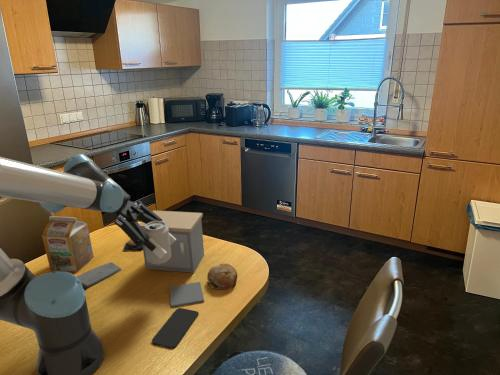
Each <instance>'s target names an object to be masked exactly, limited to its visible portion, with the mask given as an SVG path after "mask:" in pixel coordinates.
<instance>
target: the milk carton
mask: <svg viewBox="0 0 500 375" xmlns="http://www.w3.org/2000/svg"><path fill="white" fill-rule="evenodd" d="M48 220H49V221H48V222H47V224H46V226H45V228H44V229H43V232H42V235H41V237H42V241H43V245H44V249H45V253H46V259H47V261H48V266H49V270H50V272H57V271H61V272H68V273H72V274H73V273H75V274H77V273H79V272H80V271H81V270H83V268H85V266H86V265H87V264H88V263H90V262H91V261H92V260H93V259H94V258H95V256H94V252H93V247H92V241H91V236H90V230H89V226H88V223H86V222H84V221H79V220H77V217H72V216H71V217H70V216H56V215H55V216H51V215H50V216H49V219H48Z"/></svg>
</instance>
